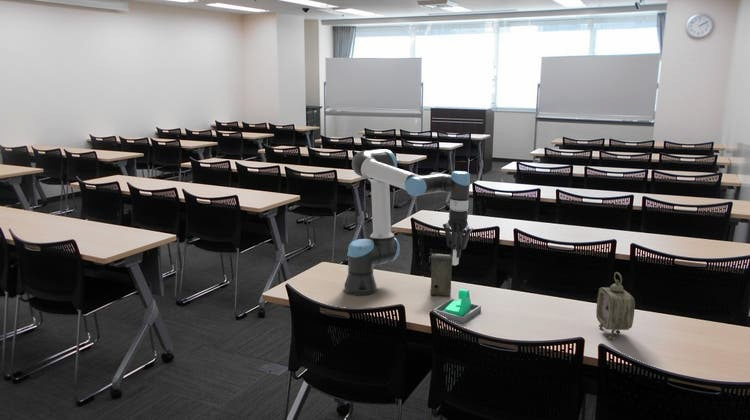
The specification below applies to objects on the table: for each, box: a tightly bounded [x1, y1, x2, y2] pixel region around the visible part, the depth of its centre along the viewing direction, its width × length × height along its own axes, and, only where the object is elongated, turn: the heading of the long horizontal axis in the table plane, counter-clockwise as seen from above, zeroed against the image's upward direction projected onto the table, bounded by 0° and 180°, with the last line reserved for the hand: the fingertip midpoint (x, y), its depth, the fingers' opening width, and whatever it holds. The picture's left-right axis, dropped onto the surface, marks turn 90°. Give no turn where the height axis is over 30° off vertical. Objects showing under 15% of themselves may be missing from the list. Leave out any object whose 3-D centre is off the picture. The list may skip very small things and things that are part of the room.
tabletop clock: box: [595, 271, 636, 340], centre depth 217 cm, size 14×9×25 cm, turn 178°
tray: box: [432, 298, 482, 324], centre depth 238 cm, size 14×16×2 cm
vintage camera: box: [430, 252, 453, 297], centre depth 262 cm, size 10×16×20 cm, turn 174°
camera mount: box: [445, 288, 472, 316], centre depth 237 cm, size 12×8×10 cm, turn 154°
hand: (455, 264), depth 235 cm, fingers closed
